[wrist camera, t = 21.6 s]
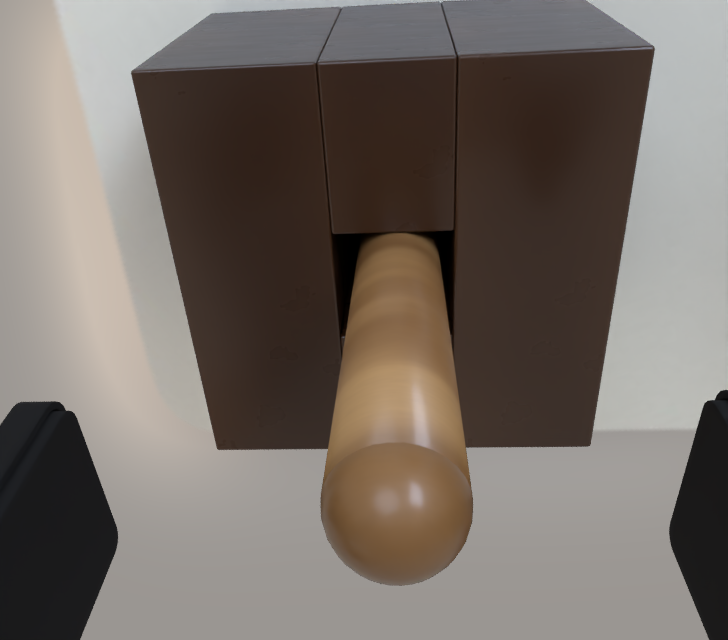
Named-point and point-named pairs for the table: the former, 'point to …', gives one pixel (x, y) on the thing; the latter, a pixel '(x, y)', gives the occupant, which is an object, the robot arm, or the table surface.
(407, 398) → the stick
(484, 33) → the holder
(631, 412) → the table surface
